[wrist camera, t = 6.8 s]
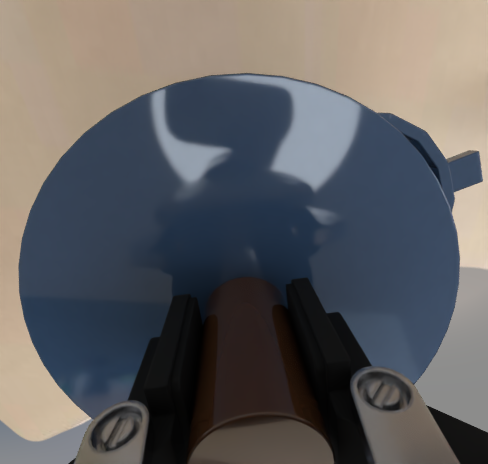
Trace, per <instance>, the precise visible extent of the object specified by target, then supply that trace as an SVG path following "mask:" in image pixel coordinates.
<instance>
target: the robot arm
mask: <svg viewBox="0 0 488 464" xmlns="http://www.w3.org/2000/svg"><path fill="white" fill-rule="evenodd" d="M286 293H287V304H288V311H289V314H290V317H291V320H292V323H293V326H294V329H295V332H296V336H297V339H298V342H299V345H300V348H301V351H302V354H303V357H304V360H305V363H306V366H307V369H308V372H309V375H310V379H311V382H312V385H313V388H314V391H315V394H316V397H317V400H318V403H319V405H320V408H321V411H322V414H323V417H324V420H325V423H326V426H327V430H328V433H329V436H330V439H331V442H332V445H333V448H334V451H335V457H336V463H335V464H488V433H487V432H485V431H483V430H481V429H478V428H476V427H474V426H472V425H470V424H467V423H465V422H463V421H460V420H458V419H456V418H454V417H452V416H449V415H447V414H445V413H443V412H440V411H438V410H436V409H434V408H431V407H429V406H427V405H426V404H425V402H424V401H423V399H422V397H421V396H420V394H419V393H418V390H417V389H416V387H415V386H414V385H413V383H412V382H411V381H410V380H409V379H408V378H407V377H405V376H404V375H403V374H401V373H399V372H397V371H395V370H393V369H390V368H386V367H382V366H372V365H371V363H370V361H369V360H368V358H367V356H366V355H365V353H364V351H363V350H362V348H361V346H360V345H359V343H358V341H357V340H356V338H355V336H354V335H353V333H352V331H351V330H350V328H349V326H348V325H347V323H346V321H345V320H344V318H343V316H342V315H341V314H340V312H333V313H326V311H325V310H324V308H323V306H322V304H321V302H320V300H319V298H318V296H317V294H316V292H315V290H314V289H313V287H312V285H311V283H310V281H309V279H308V278H307V277H306V278H299V279H292V280H291V284H286ZM202 330H203V324H202V319H201V314H200V309H199V304H198V300H197V297H193V298H192V297H191V295H190V294H184V295H177V296H173V299H172V302H171V305H170V308H169V311H168V314H167V317H166V320H165V323H164V326H163V329H162V332H161V335H160V337H154V338H151V339H150V341H149V344H148V346H147V349H146V352H145V354H144V357H143V360H142V362H141V365H140V368H139V371H138V373H137V376H136V379H135V381H134V384H133V387H132V389H131V392H130V395H129V398H128V400H127V401H122V402H119V403H116V404H114V405H112V406H110V407H108V408H107V409H105V410H104V411H103V412H101V413H100V414H99V415H98V416H96V418H95V419H94V420H93V421H92V422H91V424H90V425H89V427H88V429H87V431H86V432H85V434H84V437H83V440H82V443H81V445H80V448H79V451H78V454H77V456H76V458H75V459H74V460H72V461H71V462H70V463H69V464H185V462H186V454H187V446H188V438H189V431H190V423H191V415H192V407H193V400H194V392H195V384H196V376H197V368H198V361H199V353H200V345H201V337H202Z"/></svg>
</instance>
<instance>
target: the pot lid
mask: <svg viewBox="0 0 488 464" xmlns="http://www.w3.org/2000/svg"><path fill="white" fill-rule="evenodd" d="M459 269H460V254H459V246H458V237H457V230H456V227H455V223H454V219H453V216H452V212H451V208H450V205H449V203H448V201H447V198H446V196H445V194H444V192H443V190H442V187H441V185H440V183H439V181H438V179H437V178H436V176H435V174H434V173H433V171H432V170H431V168H430V167H429V165H428V164H427V162H426V161H425V159H424V158H423V156H422V155H421V154H420V153H419V151H418V150H417V149H416V148H415V147H414V146H413V145H412V144H411V143H410V142H409V140H408V139H407V138H406V137H405V136H404V135H403V134H402V133H401V132H400V131H399V130H397V129H396V128H395V127H394V126H393V125H391V124H390V123H389V122H388V121H386V120H385V119H384V118H383V117H381V116H380V115H379V114H378V113H376V112H374V111H373V110H371V109H369V108H368V107H366V106H364V105H362V104H361V103H359V102H357V101H356V100H354V99H352V98H350V97H349V96H346V95H344V94H341V93H339V92H336V91H334V90H331V89H328V88H326V87H323V86H321V85H318V84H315V83H311V82H306V81H302V80H298V79H294V78H289V77H285V76H277V75H265V74H252V73H240V74H224V75H210V76H205V77H201V78H196V79H191V80H187V81H182V82H177V83H174V84H171V85H168V86H166V87H163V88H160V89H158V90H155V91H152V92H150V93H147V94H144V95H142V96H140V97H138V98H136V99H134V100H133V101H131V102H129V103H127V104H125V105H123V106H122V107H120V108H118V109H116V110H114V111H113V112H111V113H110V114H108V115H107V116H106V117H104V118H103V119H102V120H100V121H99V122H98V123H97V124H95V125H94V126H93V127H91V128H90V129H89V130H87V131H86V132H85V133H84V134H83V135H82V136H81V137H80V138H79V139H78V140H77V141H76V142H75V143H74V144H73V145H72V146H71V147H70V148H69V149H68V151H67V152H66V153H65V154H64V155H63V156H62V157H61V158H60V160H59V161H58V163H57V164H56V166H55V167H54V168H53V170H52V171H51V173H50V174H49V176H48V177H47V179H46V180H45V181H44V183H43V185H42V187H41V189H40V191H39V193H38V195H37V198H36V200H35V202H34V204H33V206H32V208H31V210H30V213H29V217H28V220H27V223H26V227H25V230H24V234H23V237H22V243H21V251H20V259H19V294H20V299H21V305H22V310H23V315H24V320H25V323H26V326H27V329H28V331H29V334H30V337H31V340H32V343H33V345H34V347H35V349H36V351H37V353H38V355H39V357H40V359H41V361H42V362H43V364H44V366H45V367H46V369H47V370H48V372H49V373H50V375H51V376H52V378H53V379H54V380H55V382H56V383H57V385H58V386H59V387H60V388H61V389H62V390H63V391H64V393H65V394H66V395H67V396H68V397H69V398H70V399H71V400H72V401H73V402H74V403H75V404H76V405H77V406H78V407H79V408H80V409H81V410H83V411H84V412H85V413H86V414H87V415H88V416H90V417H91V418H92V419H93V420H94V419H95V418H96V416H98V415H99V414H100V413H101V412H103V411H104V410H105V409H107V408H108V407H110V406H112V405H114V404H116V403H119V402H122V401H127V400H128V398H129V395H130V392H131V389H132V387H133V384H134V381H135V379H136V376H137V373H138V371H139V368H140V365H141V362H142V360H143V357H144V354H145V352H146V349H147V346H148V344H149V341H150V339H151V338H154V337H160V335H161V332H162V329H163V326H164V323H165V320H166V317H167V314H168V311H169V308H170V305H171V302H172V299H173V296H177V295H184V294H190V295H191V297H192V298H193V297H197V300H198V304H199V309H200V314H201V319H202V324H203V330H202V337H201V345H200V353H199V361H198V368H197V376H196V384H195V392H194V400H193V407H192V415H191V423H190V431H189V438H188V446H187V454H186V462H185V464H335V463H336V457H335V451H334V448H333V445H332V442H331V439H330V436H329V433H328V430H327V426H326V423H325V420H324V417H323V414H322V411H321V408H320V405H319V403H318V400H317V397H316V394H315V391H314V388H313V385H312V382H311V379H310V375H309V372H308V369H307V366H306V363H305V360H304V357H303V354H302V351H301V348H300V345H299V342H298V339H297V336H296V332H295V329H294V326H293V323H292V320H291V317H290V314H289V311H288V304H287V293H286V284H291V280H292V279H299V278H306V277H307V278H308V279H309V281H310V283H311V285H312V287H313V289H314V290H315V292H316V294H317V296H318V298H319V300H320V302H321V304H322V306H323V308H324V310H325V311H326V313H333V312H340V314H341V315H342V316H343V318H344V320H345V321H346V323H347V325H348V326H349V328H350V330H351V331H352V333H353V335H354V336H355V338H356V340H357V341H358V343H359V345H360V346H361V348H362V350H363V351H364V353H365V355H366V356H367V358H368V360H369V361H370V363H371V365H372V366H382V367H386V368H390V369H393V370H395V371H397V372H399V373H401V374H403V375H404V376H405V377H407V378H408V379H409V380H410V381H411V382H412V383H413V385H414V384H415V383H416V382H417V380H418V379H419V378H420V376H421V375H422V374H423V373H424V372H425V370H426V368H427V367H428V365H429V364H430V362H431V361H432V359H433V357H434V356H435V354H436V353H437V351H438V349H439V347H440V345H441V342H442V340H443V338H444V336H445V334H446V332H447V329H448V326H449V323H450V320H451V317H452V314H453V311H454V308H455V302H456V297H457V292H458V286H459Z"/></svg>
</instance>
